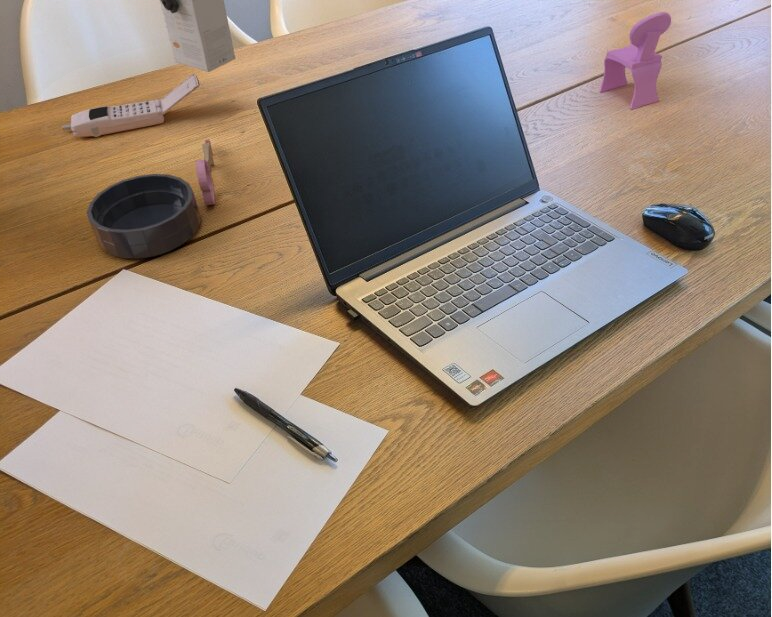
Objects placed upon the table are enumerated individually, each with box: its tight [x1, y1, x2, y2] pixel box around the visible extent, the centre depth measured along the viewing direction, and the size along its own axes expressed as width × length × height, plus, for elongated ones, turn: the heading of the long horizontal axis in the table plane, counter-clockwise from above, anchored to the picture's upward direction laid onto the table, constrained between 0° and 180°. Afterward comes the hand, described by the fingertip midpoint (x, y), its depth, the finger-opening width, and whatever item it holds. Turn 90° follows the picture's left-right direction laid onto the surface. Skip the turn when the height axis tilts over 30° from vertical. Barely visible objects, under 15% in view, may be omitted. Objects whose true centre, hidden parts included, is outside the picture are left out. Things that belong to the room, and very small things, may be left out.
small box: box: [159, 0, 236, 73], centre depth 105 cm, size 8×6×13 cm
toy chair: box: [599, 11, 672, 110], centre depth 113 cm, size 8×9×15 cm
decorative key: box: [195, 139, 216, 206], centre depth 103 cm, size 7×1×20 cm
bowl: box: [86, 173, 201, 260], centre depth 93 cm, size 14×14×5 cm
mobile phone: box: [61, 73, 201, 138], centre depth 117 cm, size 6×6×25 cm
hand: (197, 3), depth 102 cm, fingers closed on small box, 7 cm apart
